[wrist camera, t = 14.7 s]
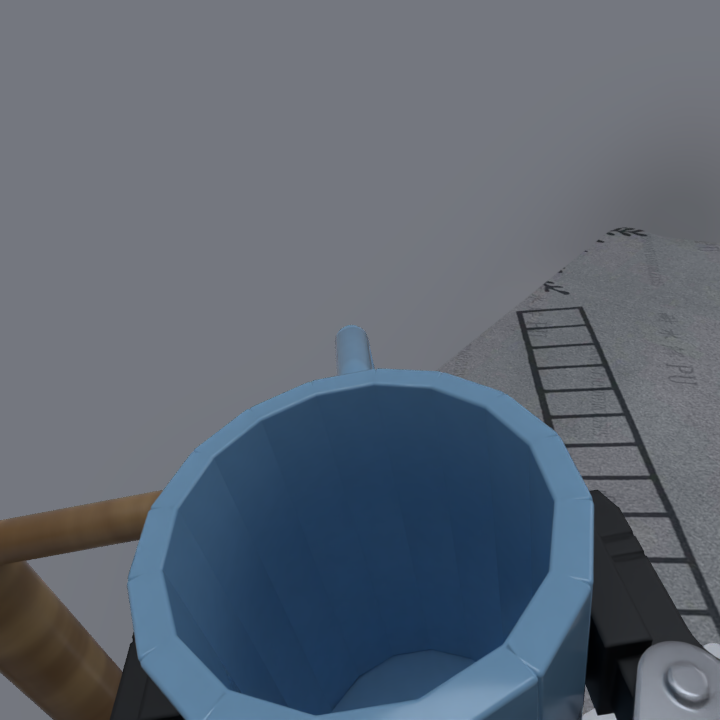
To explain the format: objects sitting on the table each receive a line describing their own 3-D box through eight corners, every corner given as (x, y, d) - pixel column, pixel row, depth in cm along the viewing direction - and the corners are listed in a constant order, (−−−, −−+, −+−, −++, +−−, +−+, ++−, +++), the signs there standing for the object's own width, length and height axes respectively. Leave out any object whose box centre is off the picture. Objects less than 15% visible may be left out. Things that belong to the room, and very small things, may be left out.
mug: (623, 945, 11) (706, 708, 5) (299, 988, 11) (51, 809, 6) (483, 503, 20) (458, 243, 14) (306, 534, 20) (215, 292, 15)
